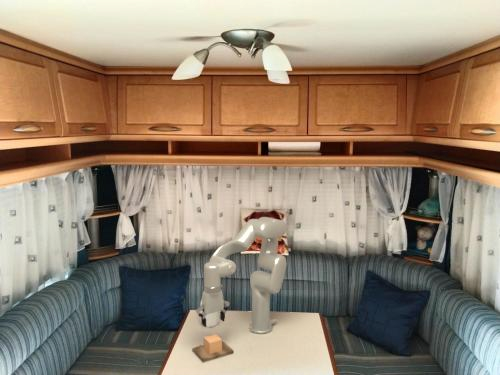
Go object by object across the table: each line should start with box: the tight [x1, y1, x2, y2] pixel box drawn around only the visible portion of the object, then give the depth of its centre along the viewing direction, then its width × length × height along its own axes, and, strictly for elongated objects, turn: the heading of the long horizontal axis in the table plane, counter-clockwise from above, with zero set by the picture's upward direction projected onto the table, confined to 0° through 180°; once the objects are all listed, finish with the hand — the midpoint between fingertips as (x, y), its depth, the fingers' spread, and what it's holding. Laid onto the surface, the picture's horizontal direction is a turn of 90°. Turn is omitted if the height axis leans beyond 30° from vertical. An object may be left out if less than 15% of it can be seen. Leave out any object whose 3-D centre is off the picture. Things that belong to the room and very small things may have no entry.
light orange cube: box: [203, 333, 223, 354], centre depth 213 cm, size 6×6×6 cm
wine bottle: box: [199, 289, 219, 328], centre depth 241 cm, size 10×10×30 cm
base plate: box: [191, 340, 235, 363], centre depth 213 cm, size 16×12×5 cm
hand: (213, 322), depth 212 cm, fingers open, 9 cm apart
